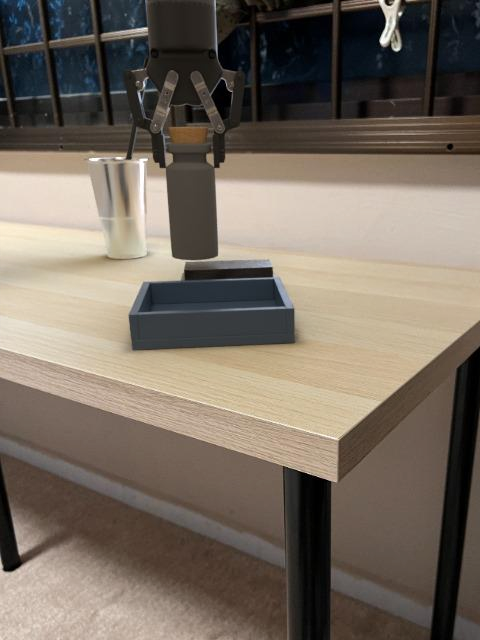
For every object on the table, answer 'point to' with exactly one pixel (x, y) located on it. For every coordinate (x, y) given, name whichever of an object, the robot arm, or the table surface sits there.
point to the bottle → (191, 195)
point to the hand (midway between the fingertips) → (190, 167)
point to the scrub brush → (228, 269)
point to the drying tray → (211, 313)
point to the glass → (122, 199)
